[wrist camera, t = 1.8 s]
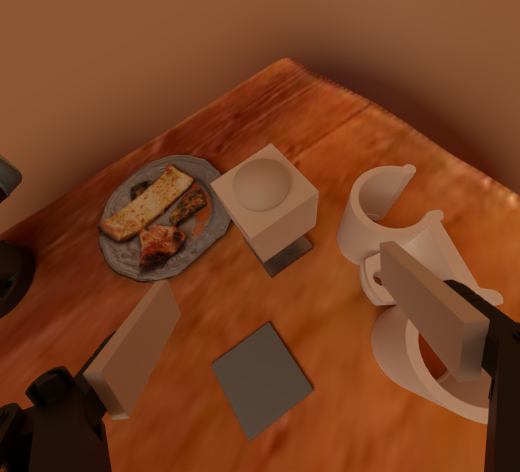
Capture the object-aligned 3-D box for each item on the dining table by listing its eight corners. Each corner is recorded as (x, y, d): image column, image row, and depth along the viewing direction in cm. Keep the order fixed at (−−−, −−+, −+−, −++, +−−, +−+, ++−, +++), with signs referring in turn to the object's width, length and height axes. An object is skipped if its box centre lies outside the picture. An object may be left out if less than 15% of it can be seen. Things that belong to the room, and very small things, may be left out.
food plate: (143, 312, 39) (129, 309, 36) (86, 222, 48) (71, 214, 45) (258, 211, 43) (255, 200, 40) (186, 146, 53) (178, 134, 49)
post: (244, 240, 41) (225, 208, 31) (282, 213, 42) (276, 173, 32) (271, 278, 38) (260, 256, 28) (313, 248, 39) (316, 217, 29)
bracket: (324, 223, 40) (332, 179, 29) (384, 207, 39) (415, 156, 28) (390, 401, 30) (441, 438, 19) (472, 383, 29) (574, 410, 18)
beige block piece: (230, 217, 33) (206, 178, 25) (278, 184, 34) (270, 136, 26) (263, 262, 30) (248, 234, 22) (315, 225, 31) (319, 185, 23)
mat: (211, 364, 35) (210, 365, 34) (269, 322, 35) (268, 321, 35) (249, 440, 31) (249, 441, 30) (313, 389, 31) (313, 390, 31)
